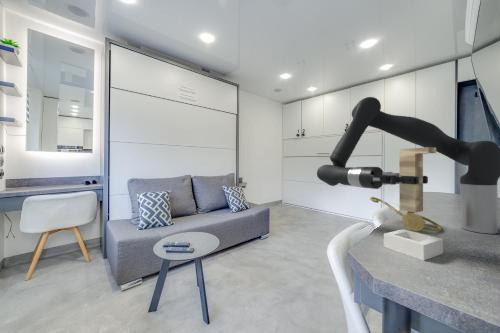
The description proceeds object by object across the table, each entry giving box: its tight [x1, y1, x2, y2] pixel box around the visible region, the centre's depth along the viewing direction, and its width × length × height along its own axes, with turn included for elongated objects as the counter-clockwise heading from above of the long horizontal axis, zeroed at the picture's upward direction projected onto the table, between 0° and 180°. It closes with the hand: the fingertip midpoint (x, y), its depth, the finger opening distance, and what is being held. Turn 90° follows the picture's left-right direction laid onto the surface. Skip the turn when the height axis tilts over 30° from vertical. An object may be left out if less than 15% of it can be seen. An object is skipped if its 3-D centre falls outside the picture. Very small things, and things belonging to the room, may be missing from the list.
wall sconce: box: [369, 196, 442, 232], centre depth 83 cm, size 14×10×25 cm
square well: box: [383, 228, 444, 261], centre depth 58 cm, size 10×10×4 cm
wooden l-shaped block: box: [398, 147, 437, 214], centre depth 57 cm, size 4×7×18 cm, turn 25°
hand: (422, 180), depth 56 cm, fingers closed on wooden l-shaped block, 4 cm apart
